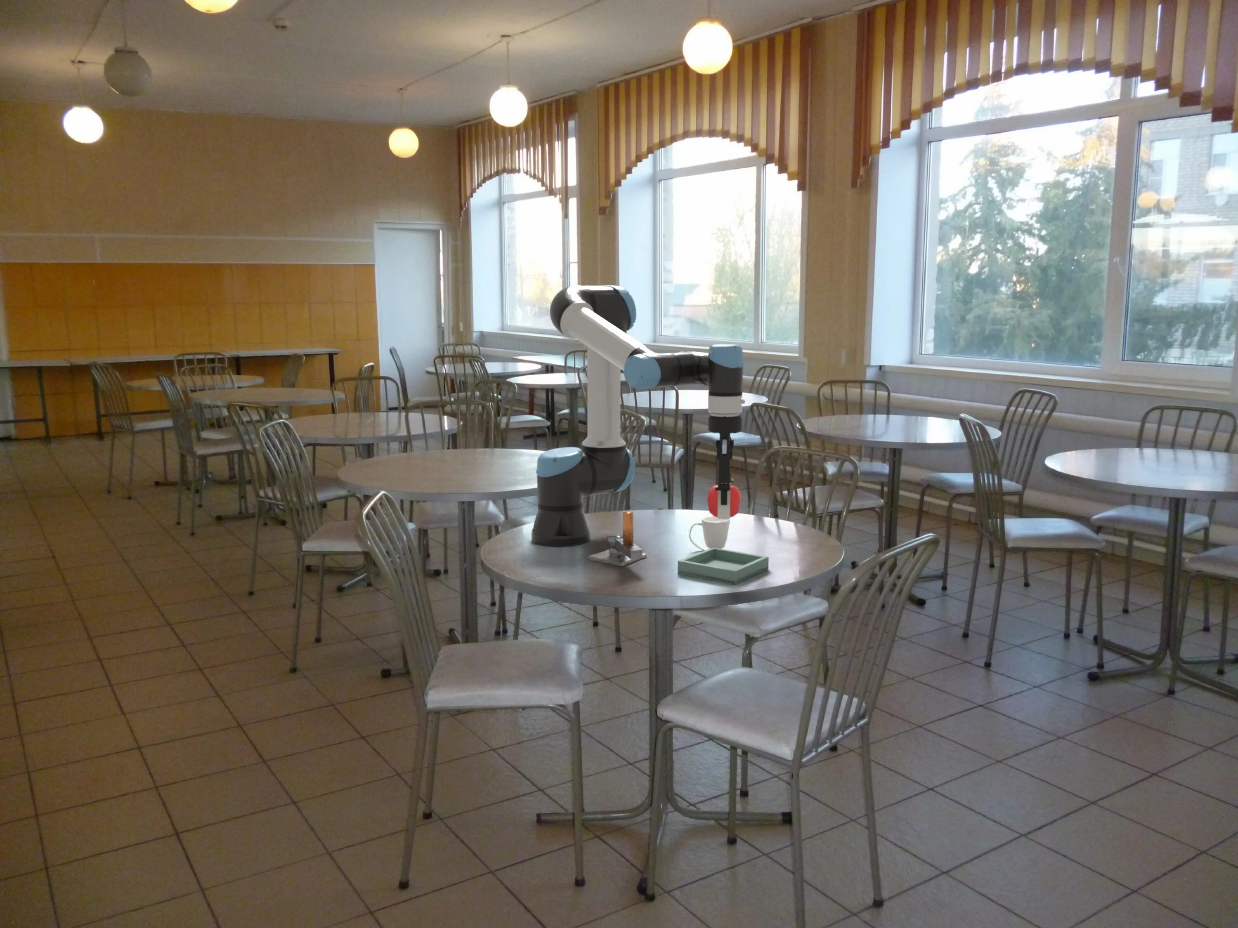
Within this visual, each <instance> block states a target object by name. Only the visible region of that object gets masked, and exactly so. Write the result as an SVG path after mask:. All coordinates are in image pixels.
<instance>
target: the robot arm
mask: <svg viewBox="0 0 1238 928" xmlns="http://www.w3.org/2000/svg"><path fill="white" fill-rule="evenodd" d="M549 317H550V320H551V322H552V325H553V326H554V328H555V329H556V330H557V331H558V332H559V333H560V334H562V335H564V336H565V337H566V338H568V339H572V340H578V341H580V342H581V343H582V344H584V345H585V346H587V436H586V438H585V439H584V440H583V441H582V442H581V448H580V447H576V446H569V447H568V446H566V447H558V448H553V449H549V450H546V451H544V452H542V453H541V454H540V455H539V456H538V457H537V459H536V460H537V461H536V470H535V471H536V472H535V473H536V484H537V485H536V486H537V489H536V491H537V493H536V495H537V512H536V516H535V519H534V523H533V526H532V529H531V542H532V543H535V544H537V545H541V546H547V547H548V546H549V547H571V546H577V545H582V544H585V543H587V542H589V541H590V540H591V531H590V527H589V526H588V521H587V519H586V516H585V513H584V506H583V505H584V497H590V496H597V495H603V494H608V495H610V494H611V495H612V494H613V493H616V492H621V491H624V490H625V489H627V488H628V486H630V485H631V484H632V481H633V479H634V477H635V472H636V462H635V461H636V460H635V458H634V457H633V453H632V451H631V450H630V449H628V448H627V443H626V441H625V440H624V439H623V438H622V437H621V372H622V371H623V377H624V379H625V381H627V382H626V383H627V385H628V386H629V387H630V388H632V389H638V390H639V389H641V390H650V389H657V388H659V389H660V388H669V387H684V386H705V387H706V386H707V387H708V394H707V395H708V396H707V397H708V398H707V412H708V414H709V415H708V417H707V418H708V421H707V423H708V424H707V429H708V432H710V433H713V434H719V438H718V439H715V449H716V459H717V461H718V483H717V485H718V487H715V490H718V519H730V520H731V517H730V485H732V483H734V477H732V474H731V461H732V460H733V455H734V453H733V452H734V451H733V450H734V447H735V446H734V444H735V442H734V441H735V440H734V439H732V437H731V434H737V433H741V432H742V430H743V416H742V415H740V414H741V413H742V412H743V405H742V404H744V405H745V403H746V400H745V399H744V398H743V384H744V383H743V381H744V380H743V378H744V377H743V376H744V364H745V363H744V355H743V354H744V353H743V348H742V347H741V345H739V344H731V343H730V344H728V343H725V344H724V343H719V344H712V345H710V346H709V348H708V352H702V351H695V350H685V351H684V350H683V351H679V352H666V353H665V352H664V353H658V352H655V351H654V350H652V349H651V348H648V347H647V346H645V345H644V344H643V343H641V342H639V341H638V340H637V339H635V338H633V337H632V336H630V335H628V334H627V332H628V331H629V330H631V329H632V328H633V327H634V325H635V323H636V320H637V307H636V303H635V301H634V298H633V296H632V295H631V294H630V293H629V291H628V290H627V289H626V288H624V287H622V286H619V285H609V284H607V285H604V284H603V285H570V286H566V287H564V288H563V289H561V290H559V291H558V292H557V293H556V295H555V296H554V297H553V299H552V300H551V303H550V308H549ZM723 483H725V484H723Z"/></svg>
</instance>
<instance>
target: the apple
mask: <svg viewBox="0 0 1238 928" xmlns="http://www.w3.org/2000/svg"><path fill="white" fill-rule="evenodd" d="M723 484H725V483H723ZM715 487H718V484H716V485H713V486H712V487H711V488H710V491H709V492H708V495H707V499H706V501H707V505H708V511H709V513H710V514H711V516H714V517H718V490H715ZM741 495H742V494H741V491H740V490H739V488H738V487H737V486H735V485H732V484H731V485H730V518H733V517H735V516H736V515H738V514H739V510H740V506H741V501H742V496H741Z"/></svg>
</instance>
